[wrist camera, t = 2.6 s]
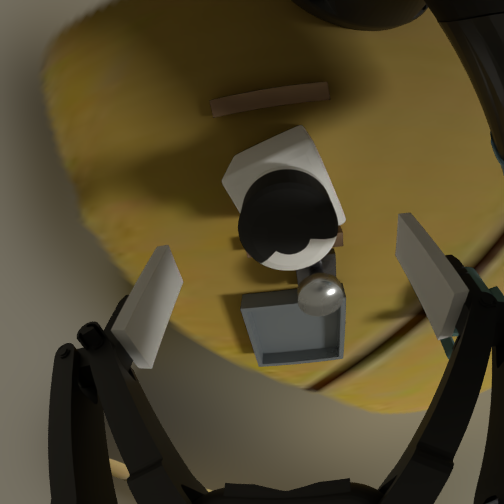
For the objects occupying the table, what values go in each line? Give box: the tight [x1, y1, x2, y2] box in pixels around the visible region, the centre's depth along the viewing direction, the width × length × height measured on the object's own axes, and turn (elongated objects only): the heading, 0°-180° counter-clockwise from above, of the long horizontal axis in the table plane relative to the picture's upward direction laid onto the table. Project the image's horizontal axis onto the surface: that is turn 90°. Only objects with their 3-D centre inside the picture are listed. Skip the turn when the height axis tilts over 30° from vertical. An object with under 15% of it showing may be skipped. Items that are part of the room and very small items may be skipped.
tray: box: [240, 283, 346, 367], centre depth 36 cm, size 12×12×2 cm
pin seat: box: [210, 82, 343, 258], centre depth 26 cm, size 16×10×2 cm, turn 11°
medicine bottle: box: [222, 125, 346, 270], centre depth 21 cm, size 7×7×12 cm
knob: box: [296, 249, 344, 316], centre depth 30 cm, size 5×5×6 cm
